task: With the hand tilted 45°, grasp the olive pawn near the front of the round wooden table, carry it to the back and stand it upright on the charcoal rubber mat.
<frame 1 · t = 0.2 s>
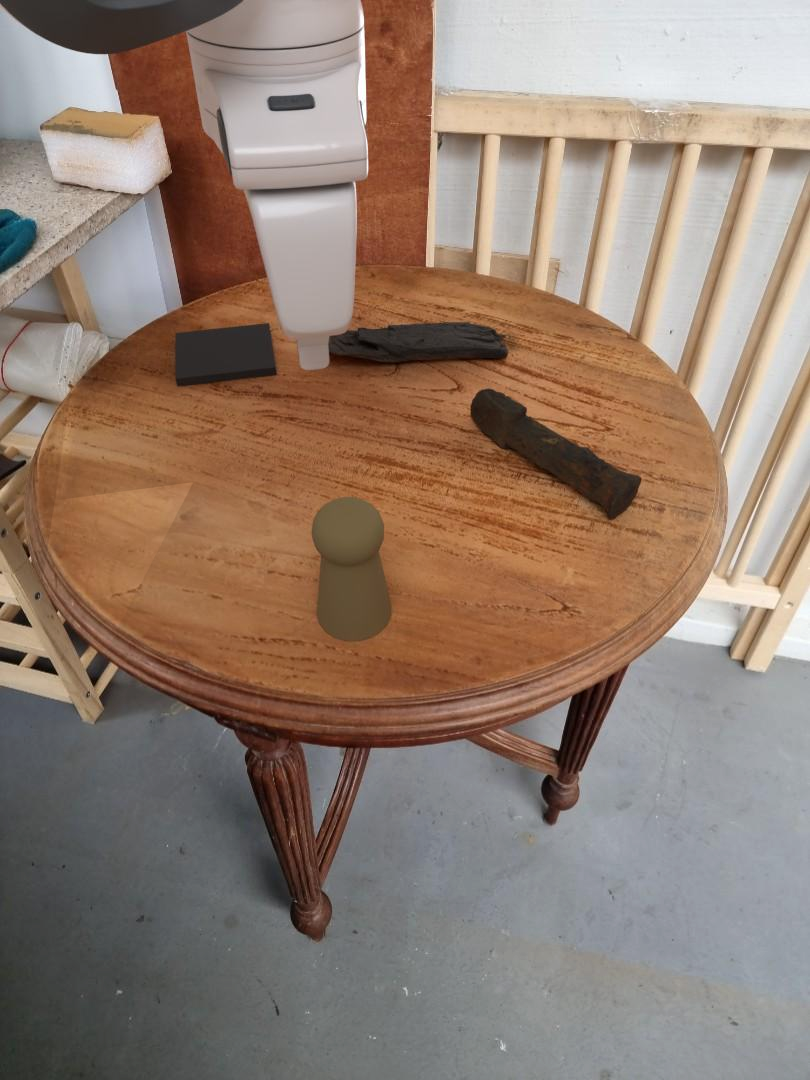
hand: (305, 322, 51), 22 cm above the table, tool pointing down, fingers open, 8 cm apart
olive pawn: (354, 611, 62), on the table
hand tool: (539, 468, 74), on the table
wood: (410, 350, 88), on the table
mat: (225, 357, 86), on the table
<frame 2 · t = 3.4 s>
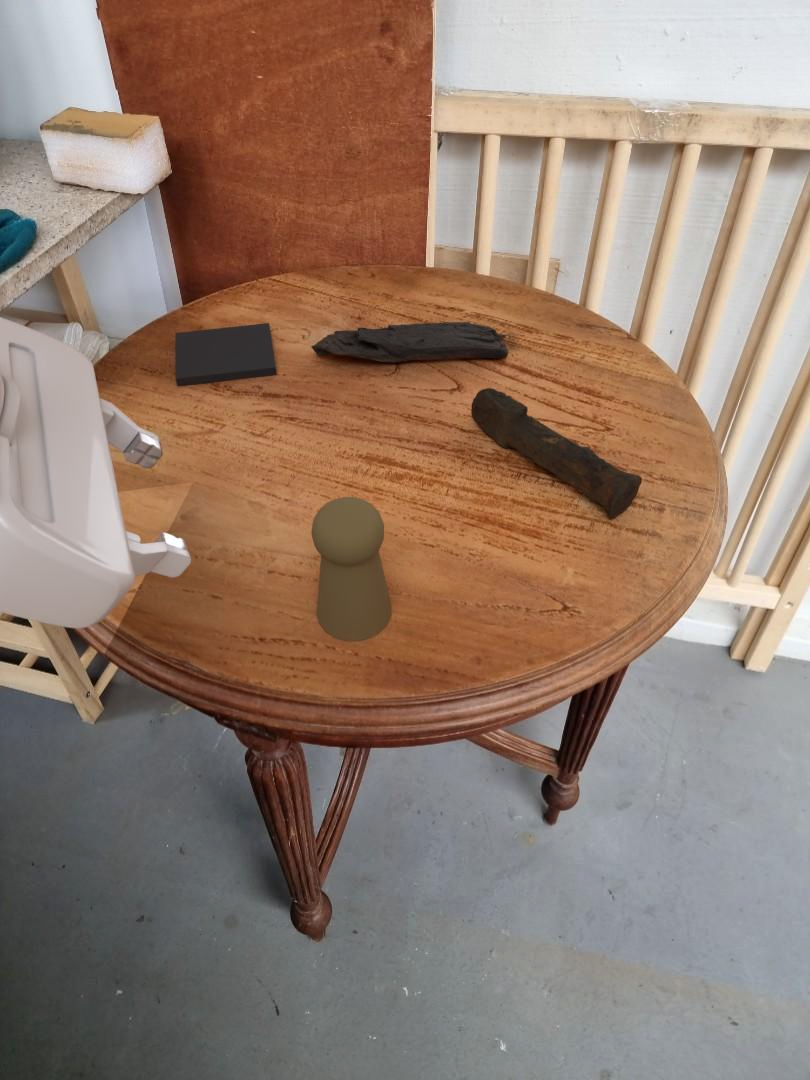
hand: (169, 503, 47), 17 cm above the table, tool tilted 45°, fingers open, 8 cm apart
nothing on the table moved.
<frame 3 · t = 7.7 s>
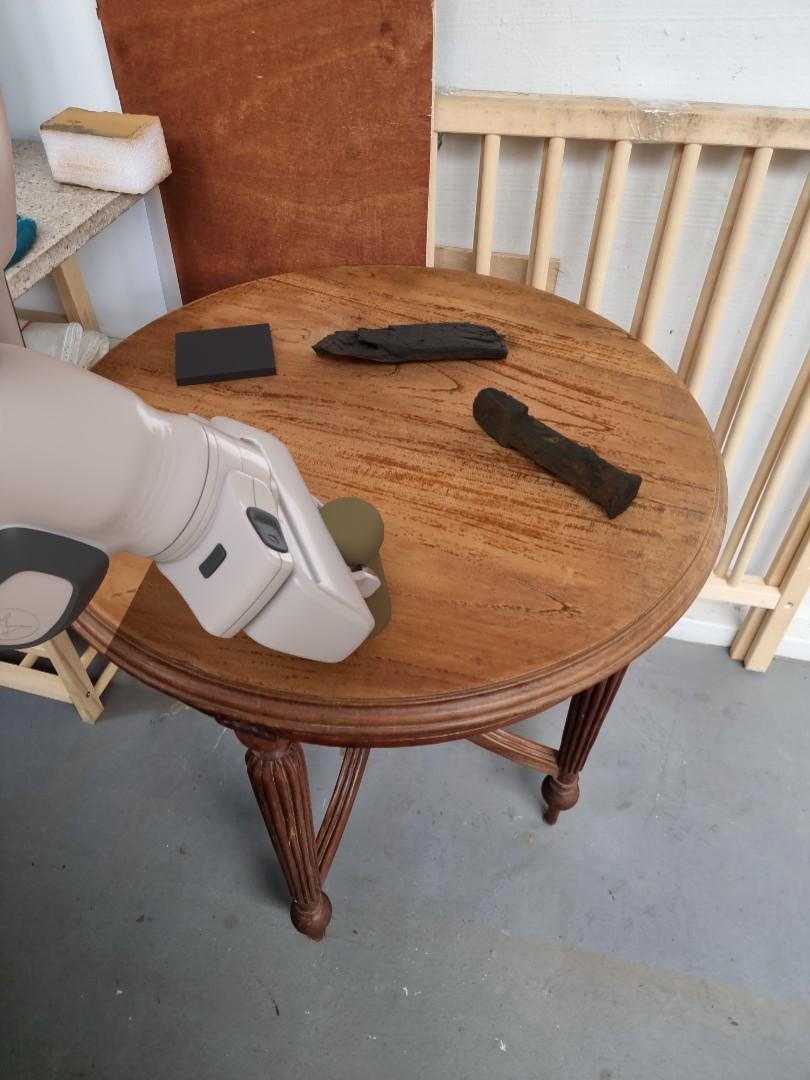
hand: (358, 558, 58), 6 cm above the table, tool tilted 45°, fingers closed on olive pawn, 4 cm apart
olive pawn: (354, 612, 62), on the table, touching gripper
everything else where it was.
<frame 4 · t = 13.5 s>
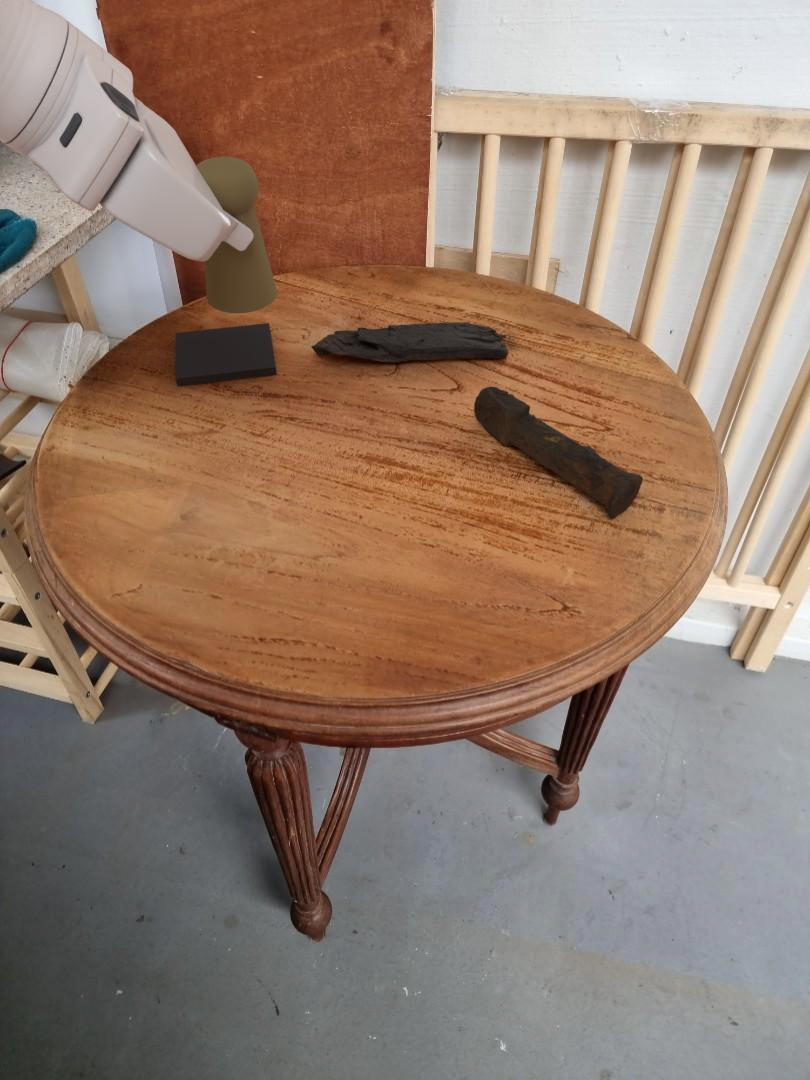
hand: (238, 226, 63), 21 cm above the table, tool tilted 45°, fingers closed on olive pawn, 4 cm apart
olive pawn: (242, 297, 67), point 15 cm above the table, touching gripper
everything else where it was.
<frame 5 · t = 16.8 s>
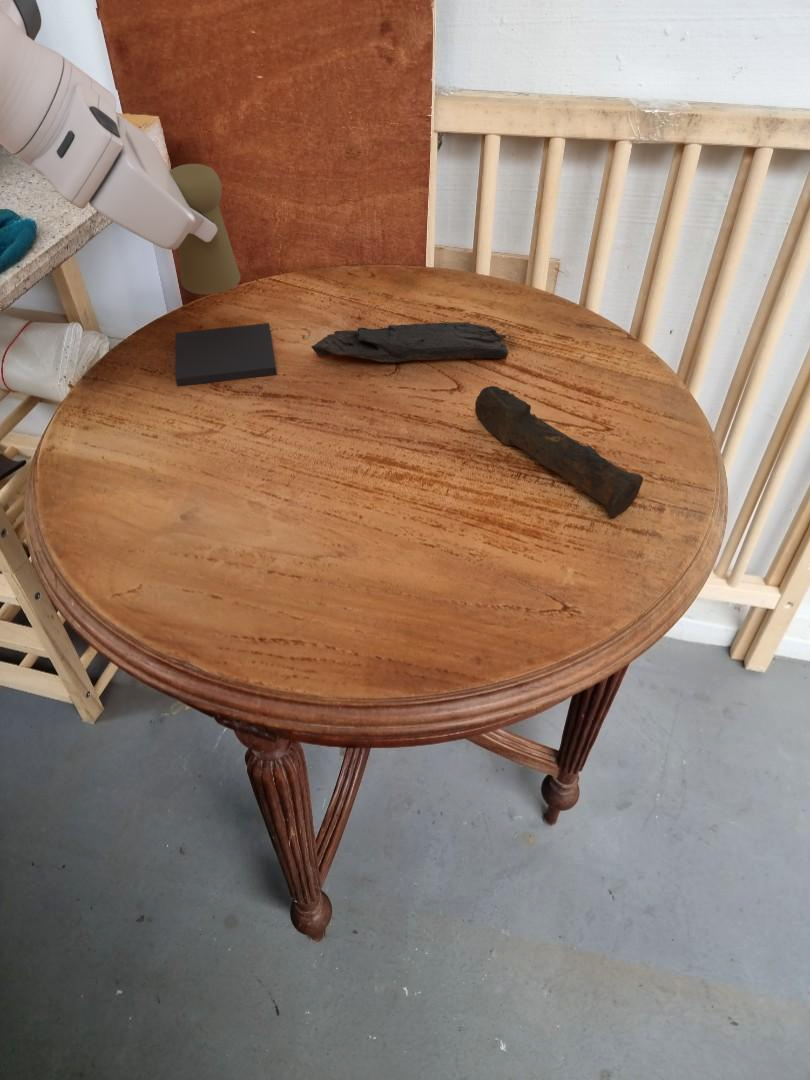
hand: (205, 221, 75), 15 cm above the table, tool tilted 45°, fingers closed on olive pawn, 4 cm apart
olive pawn: (211, 281, 80), point 9 cm above the table, touching gripper
everything else where it was.
when the fingers open (7 cm above the table, at t = 19.4 s): olive pawn stays where it is, resting on mat.
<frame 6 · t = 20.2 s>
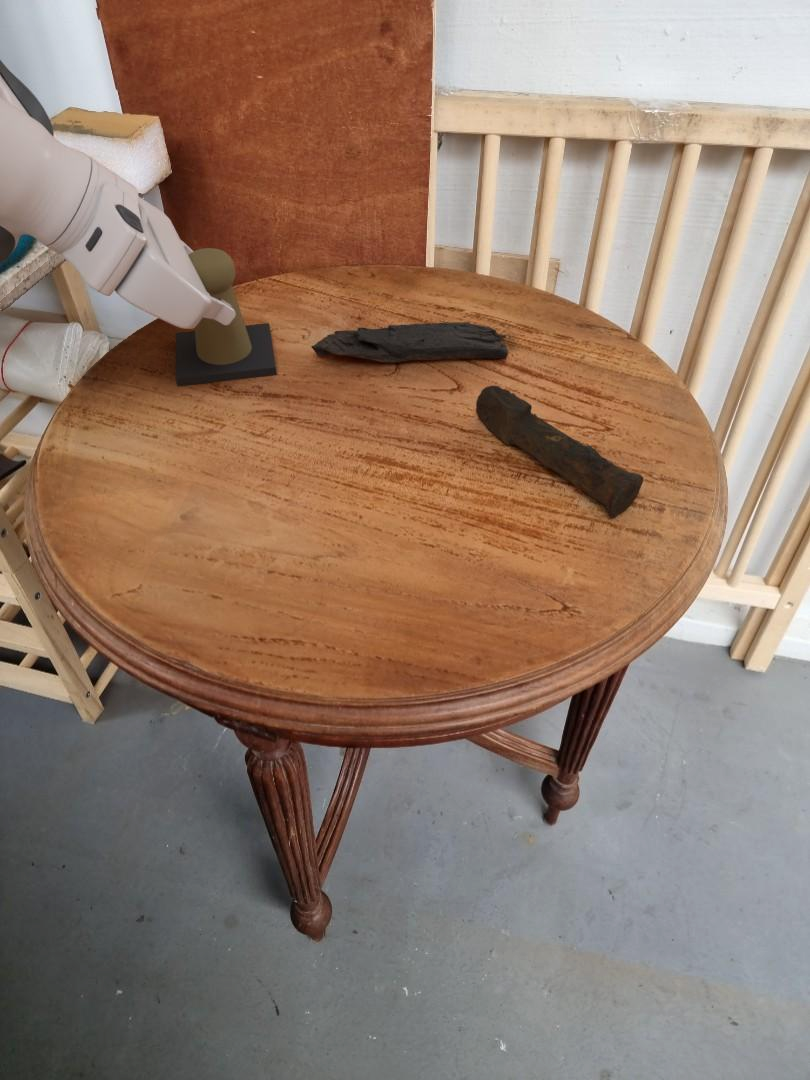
hand: (219, 294, 81), 8 cm above the table, tool tilted 45°, fingers open, 8 cm apart
olive pawn: (224, 350, 86), point 1 cm above the table, touching mat
everything else where it was.
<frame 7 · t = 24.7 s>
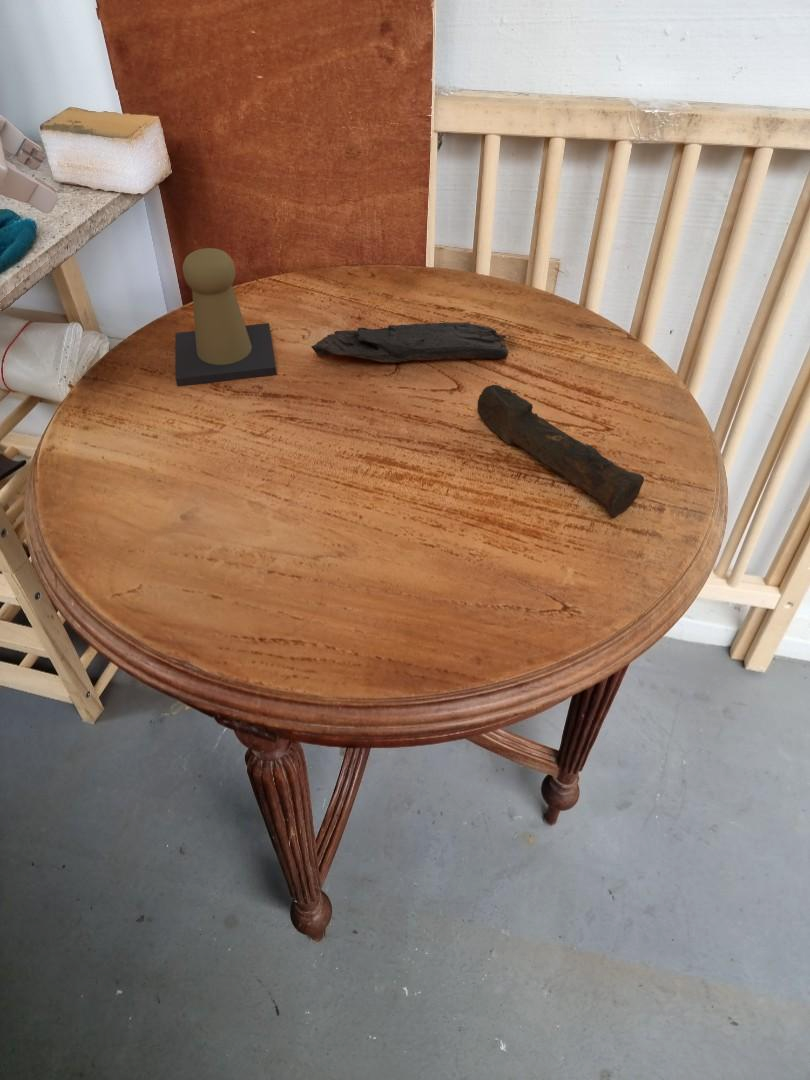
hand: (46, 181, 65), 22 cm above the table, tool tilted 45°, fingers open, 8 cm apart
nothing on the table moved.
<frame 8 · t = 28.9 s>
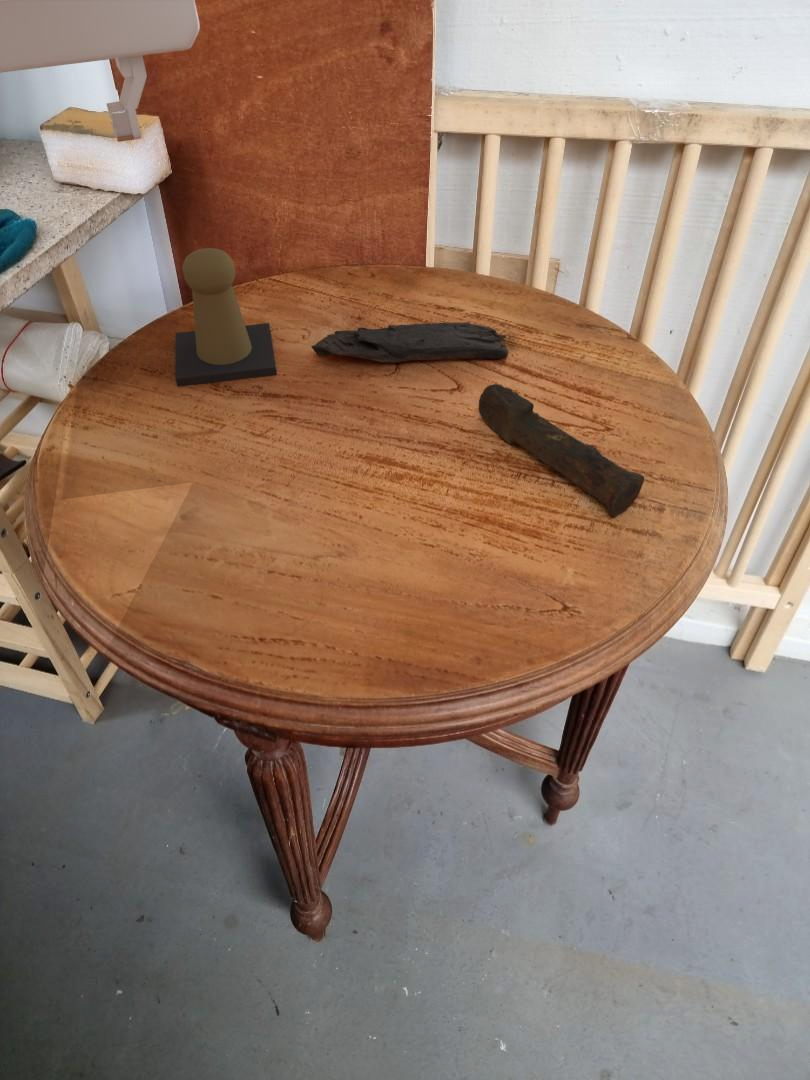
hand: (49, 149, 47), 31 cm above the table, tool pointing down, fingers open, 8 cm apart
nothing on the table moved.
at the end: olive pawn inside the target area on the mat (0.1 cm from its centre), point 0.8 cm above the mat's base; olive pawn tilted 0°; the gripper is holding nothing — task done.
